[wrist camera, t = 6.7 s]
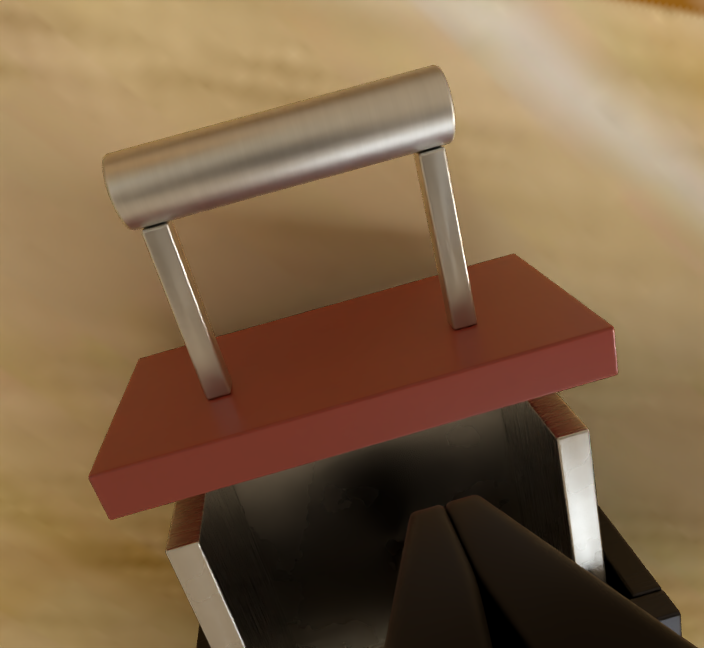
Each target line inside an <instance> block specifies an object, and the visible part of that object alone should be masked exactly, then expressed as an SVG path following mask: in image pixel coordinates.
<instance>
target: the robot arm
mask: <svg viewBox="0 0 704 648" xmlns="http://www.w3.org/2000/svg"><path fill="white" fill-rule="evenodd" d="M384 648H697V647H696V646H694V645H693V644H692V643H690V642H689V641H687V640H686V639H684V638H683V637H681V636H680V635H679V634H677V633H676V632H674V631H673V630H671V629H670V628H669V627H667V626H666V625H664V624H663V623H661V622H660V621H659V620H657V619H656V618H654V617H653V616H651V615H650V614H649V613H647V612H646V611H644V610H643V609H641V608H640V607H638V606H637V605H636V604H634V603H633V602H631V601H630V600H628V599H627V598H626V597H624V596H623V595H621V594H620V593H618V592H617V591H616V590H614V589H613V588H611V587H610V586H608V585H607V584H605V583H604V582H603V581H601V580H600V579H598V578H597V577H595V576H594V575H593V574H591V573H590V572H588V571H587V570H585V569H584V568H583V567H581V566H580V565H578V564H577V563H575V562H574V561H573V560H571V559H570V558H568V557H567V556H565V555H564V554H562V553H561V552H560V551H558V550H557V549H555V548H554V547H552V546H551V545H550V544H548V543H547V542H545V541H544V540H542V539H541V538H540V537H538V536H537V535H535V534H534V533H532V532H531V531H529V530H528V529H527V528H525V527H524V526H522V525H521V524H519V523H518V522H517V521H515V520H514V519H512V518H511V517H509V516H508V515H507V514H505V513H504V512H502V511H501V510H499V509H498V508H497V507H495V506H494V505H492V504H491V503H489V502H488V501H486V500H485V499H484V498H482V497H481V496H478V495H471V496H468V497H464V498H461V499H457V500H454V501H450V502H448V503H447V504H446V508H444V507H443V506H441V505H436V506H433V507H429V508H426V509H422V510H419V511H415V512H413V513H412V514H411V516H410V518H409V522H408V527H407V532H406V538H405V543H404V548H403V553H402V558H401V563H400V568H399V574H398V579H397V584H396V589H395V594H394V599H393V604H392V609H391V615H390V620H389V625H388V630H387V635H386V640H385V645H384Z"/></svg>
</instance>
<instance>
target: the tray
mask: <svg viewBox="0 0 704 648" xmlns="http://www.w3.org/2000/svg"><path fill="white" fill-rule="evenodd" d="M455 129H456V120H455V110H454V104H453V99H452V95H451V91H450V88H449V85H448V82H447V80H446V77H445V75H444V73H443V72H442V70H441V68H440V67H439V66H436V65H431V66H427V67H424V68H420V69H416V70H413V71H409V72H405V73H402V74H398V75H394V76H391V77H387V78H383V79H380V80H376V81H372V82H369V83H365V84H361V85H358V86H354V87H350V88H347V89H343V90H339V91H336V92H332V93H328V94H325V95H321V96H317V97H314V98H310V99H306V100H303V101H299V102H295V103H292V104H288V105H284V106H281V107H277V108H273V109H270V110H266V111H262V112H259V113H255V114H251V115H248V116H244V117H240V118H237V119H233V120H229V121H226V122H222V123H218V124H215V125H211V126H207V127H204V128H200V129H196V130H193V131H189V132H185V133H182V134H178V135H174V136H171V137H167V138H163V139H160V140H156V141H152V142H149V143H145V144H141V145H138V146H134V147H130V148H127V149H123V150H119V151H116V152H112V153H108V154H106V155H105V156H104V157H103V161H102V168H103V176H104V181H105V185H106V188H107V191H108V194H109V197H110V200H111V202H112V204H113V207H114V209H115V211H116V213H117V214H118V216H119V218H120V219H121V221H122V222H123V223H124V225H125V226H126V227H127V228H128V229H130V230H138V229H141V228H144V229H143V230H142V236H143V238H144V241H145V243H146V246H147V248H148V251H149V254H150V256H151V259H152V261H153V264H154V266H155V269H156V271H157V274H158V276H159V279H160V282H161V284H162V287H163V289H164V292H165V294H166V297H167V299H168V302H169V304H170V307H171V309H172V312H173V315H174V317H175V320H176V322H177V325H178V327H179V330H180V332H181V335H182V337H183V340H184V343H185V345H186V346H183V347H179V348H176V349H172V350H169V351H165V352H161V353H158V354H154V355H151V356H147V357H144V358H140V359H139V360H138V362H137V364H136V367H135V369H134V371H133V374H132V376H131V378H130V381H129V383H128V385H127V388H126V390H125V392H124V395H123V397H122V399H121V402H120V404H119V406H118V409H117V411H116V413H115V415H114V418H113V420H112V422H111V425H110V427H109V429H108V432H107V434H106V436H105V439H104V441H103V443H102V446H101V448H100V450H99V453H98V455H97V457H96V460H95V462H94V464H93V466H92V469H91V471H90V473H89V481H90V482H91V484H92V486H93V488H94V490H95V492H96V494H97V496H98V498H99V500H100V502H101V504H102V506H103V508H104V510H105V512H106V514H107V516H108V518H109V519H110V520H113V519H116V518H120V517H123V516H127V515H130V514H134V513H137V512H141V511H144V510H148V509H151V508H155V507H158V506H162V505H165V504H169V503H172V502H175V506H174V511H173V516H172V521H171V526H170V531H169V536H168V541H167V545H166V550H165V552H166V555H167V557H168V559H169V561H170V563H171V565H172V567H173V569H174V571H175V573H176V575H177V578H178V580H179V582H180V584H181V586H182V588H183V590H184V592H185V594H186V596H187V598H188V601H189V603H190V605H191V607H192V609H193V611H194V613H195V615H196V617H197V619H198V622H199V624H200V626H201V628H202V630H203V632H204V634H205V636H206V638H207V640H208V642H209V645H210V647H211V648H384V645H385V640H386V635H387V630H388V625H389V620H390V615H391V609H392V604H393V599H394V594H395V589H396V584H397V579H398V574H399V568H400V563H401V558H402V553H403V548H404V543H405V538H406V532H407V527H408V522H409V518H410V516H411V514H412V513H413V512H415V511H419V510H422V509H426V508H429V507H433V506H436V505H441V506H443V507H444V508H446V504H447V503H448V502H450V501H454V500H457V499H461V498H464V497H468V496H471V495H478V496H481V497H482V498H484V499H485V500H486V501H488V502H489V503H491V504H492V505H494V506H495V507H497V508H498V509H499V510H501V511H502V512H504V513H505V514H507V515H508V516H509V517H511V518H512V519H514V520H515V521H517V522H518V523H519V524H521V525H522V526H524V527H525V528H527V529H528V530H529V531H531V532H532V533H534V534H535V535H537V536H538V537H540V538H541V539H542V540H544V541H545V542H547V543H548V544H550V545H551V546H552V547H554V548H555V549H557V550H558V551H560V552H561V553H562V554H564V555H565V556H567V557H568V558H570V559H571V560H573V561H574V562H575V563H577V564H578V565H580V566H581V567H583V568H584V569H585V570H587V571H588V572H590V573H591V574H593V575H594V576H595V577H597V578H598V579H600V580H601V581H603V582H604V583H605V584H607V582H606V573H605V565H604V556H603V547H602V538H601V529H600V520H599V512H598V503H597V494H596V485H595V476H594V468H593V459H592V450H591V441H590V432H589V429H588V428H587V426H586V425H585V424H584V423H583V422H582V421H581V420H580V419H579V418H578V416H577V415H576V414H575V413H574V412H573V411H572V410H571V409H570V408H569V406H568V405H567V404H566V403H565V402H564V401H563V400H562V399H561V398H560V396H559V395H558V394H557V393H556V392H559V391H563V390H566V389H570V388H573V387H577V386H580V385H584V384H587V383H591V382H594V381H598V380H601V379H604V378H608V377H611V376H615V375H617V374H618V365H617V353H616V342H615V330H614V327H613V326H612V325H610V324H609V323H608V322H606V321H605V320H604V319H602V318H601V317H600V316H598V315H597V314H596V313H594V312H593V311H592V310H590V309H589V308H587V307H586V306H585V305H583V304H582V303H581V302H579V301H578V300H577V299H575V298H574V297H573V296H571V295H570V294H569V293H567V292H566V291H564V290H563V289H562V288H560V287H559V286H558V285H556V284H555V283H554V282H552V281H551V280H550V279H548V278H547V277H546V276H544V275H543V274H542V273H540V272H539V271H537V270H536V269H535V268H533V267H532V266H531V265H529V264H528V263H527V262H525V261H524V260H523V259H521V258H520V257H519V256H517V255H516V254H510V255H507V256H503V257H500V258H496V259H493V260H489V261H485V262H482V263H478V264H475V265H471V266H468V267H467V263H466V258H465V253H464V247H463V242H462V236H461V231H460V225H459V220H458V214H457V209H456V203H455V198H454V192H453V187H452V181H451V176H450V171H449V165H448V160H447V154H446V149H445V148H444V147H442V145H446V144H449V143H451V142H452V141H453V140H454V137H455ZM413 153H414V159H415V163H416V168H417V173H418V178H419V183H420V188H421V193H422V198H423V203H424V208H425V213H426V217H427V222H428V227H429V232H430V237H431V242H432V247H433V252H434V257H435V262H436V267H437V272H438V275H436V276H432V277H428V278H425V279H421V280H418V281H414V282H411V283H407V284H404V285H400V286H396V287H393V288H389V289H386V290H382V291H379V292H375V293H371V294H368V295H364V296H361V297H357V298H354V299H350V300H347V301H343V302H339V303H336V304H332V305H329V306H325V307H322V308H318V309H314V310H311V311H307V312H304V313H300V314H297V315H293V316H290V317H286V318H282V319H279V320H275V321H272V322H268V323H265V324H261V325H258V326H254V327H250V328H247V329H243V330H240V331H236V332H233V333H229V334H225V335H222V336H218V337H215V335H214V332H213V329H212V327H211V324H210V321H209V318H208V316H207V313H206V310H205V308H204V305H203V302H202V300H201V297H200V294H199V291H198V289H197V286H196V283H195V281H194V278H193V275H192V273H191V270H190V267H189V264H188V262H187V259H186V256H185V254H184V251H183V248H182V245H181V243H180V240H179V237H178V235H177V232H176V229H175V227H174V224H173V221H172V220H174V219H178V218H181V217H185V216H188V215H192V214H196V213H199V212H203V211H207V210H210V209H214V208H218V207H221V206H225V205H228V204H232V203H236V202H239V201H243V200H247V199H250V198H254V197H257V196H261V195H265V194H268V193H272V192H276V191H279V190H283V189H286V188H290V187H294V186H297V185H301V184H305V183H308V182H312V181H315V180H319V179H323V178H326V177H330V176H334V175H337V174H341V173H344V172H348V171H352V170H355V169H359V168H363V167H366V166H370V165H373V164H377V163H381V162H384V161H388V160H392V159H395V158H399V157H402V156H406V155H410V154H413Z"/></svg>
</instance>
